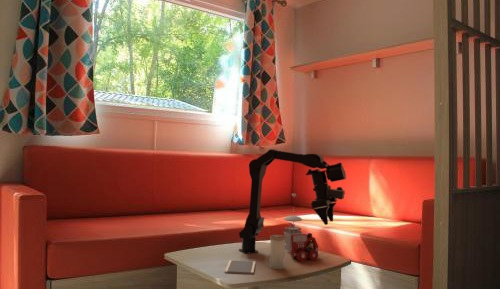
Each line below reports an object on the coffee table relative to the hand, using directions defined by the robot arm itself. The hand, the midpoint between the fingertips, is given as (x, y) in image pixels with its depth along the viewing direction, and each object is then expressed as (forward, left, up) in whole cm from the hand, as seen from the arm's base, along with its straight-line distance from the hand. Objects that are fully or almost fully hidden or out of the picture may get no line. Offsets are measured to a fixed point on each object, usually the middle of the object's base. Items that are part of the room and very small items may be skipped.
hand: (329, 222), depth 171 cm
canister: (0, -23, -15) cm, 28 cm away
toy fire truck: (-7, -6, -16) cm, 19 cm away
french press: (-21, -3, -16) cm, 27 cm away
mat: (-4, -36, -15) cm, 40 cm away
